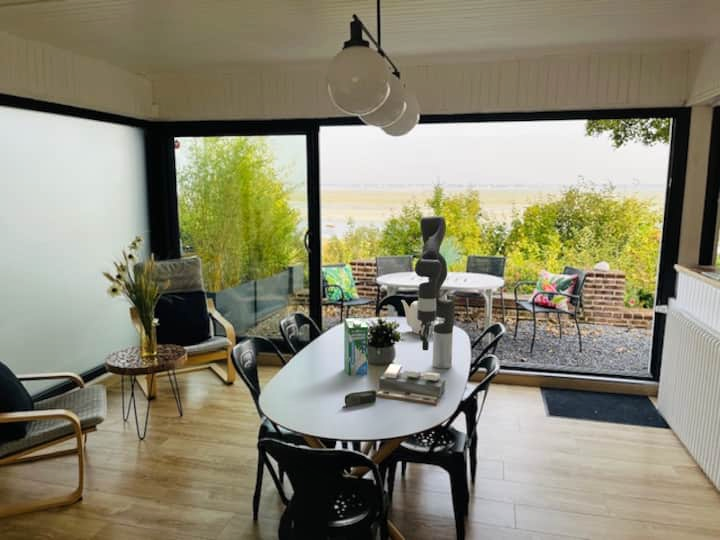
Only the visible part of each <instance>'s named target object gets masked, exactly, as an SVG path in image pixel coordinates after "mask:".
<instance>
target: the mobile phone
mask: <svg viewBox="0 0 720 540" xmlns="http://www.w3.org/2000/svg"><path fill="white" fill-rule="evenodd" d="M376 392H377V390H375V389H372V390H365V391H363V390H362V391H357V392H356V391H354V392H353V391H352V392H350V393H348V394H346V395H345V397H344V404H345V405H342V408H349V407H356V406H360V405H361V406H362V405H367V404H373V403H376V402H377V396H376Z"/></svg>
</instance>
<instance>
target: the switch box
mask: <svg viewBox="0 0 720 540" xmlns="http://www.w3.org/2000/svg"><path fill="white" fill-rule="evenodd" d="M445 385H446V379H445V378H441V377H440V378H439V379H438V380H437V381H435V380H427V379H424V375H420V376H418V378H413V377H407V376H406V375H404V372H399V375H398V376H397V377H396V378H390V377H384V373H383V374H382V375H381V376H380V377H379V385H378V386H379V388H378V389H377V390H376V397H379V398H386V399H392V400H399V401H406V402H411V403H418V404H424V405H429V406H437V405H438V403H439V401H440V399H441V398H442V396H443V395H444V393H445V389H446V386H445Z"/></svg>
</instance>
